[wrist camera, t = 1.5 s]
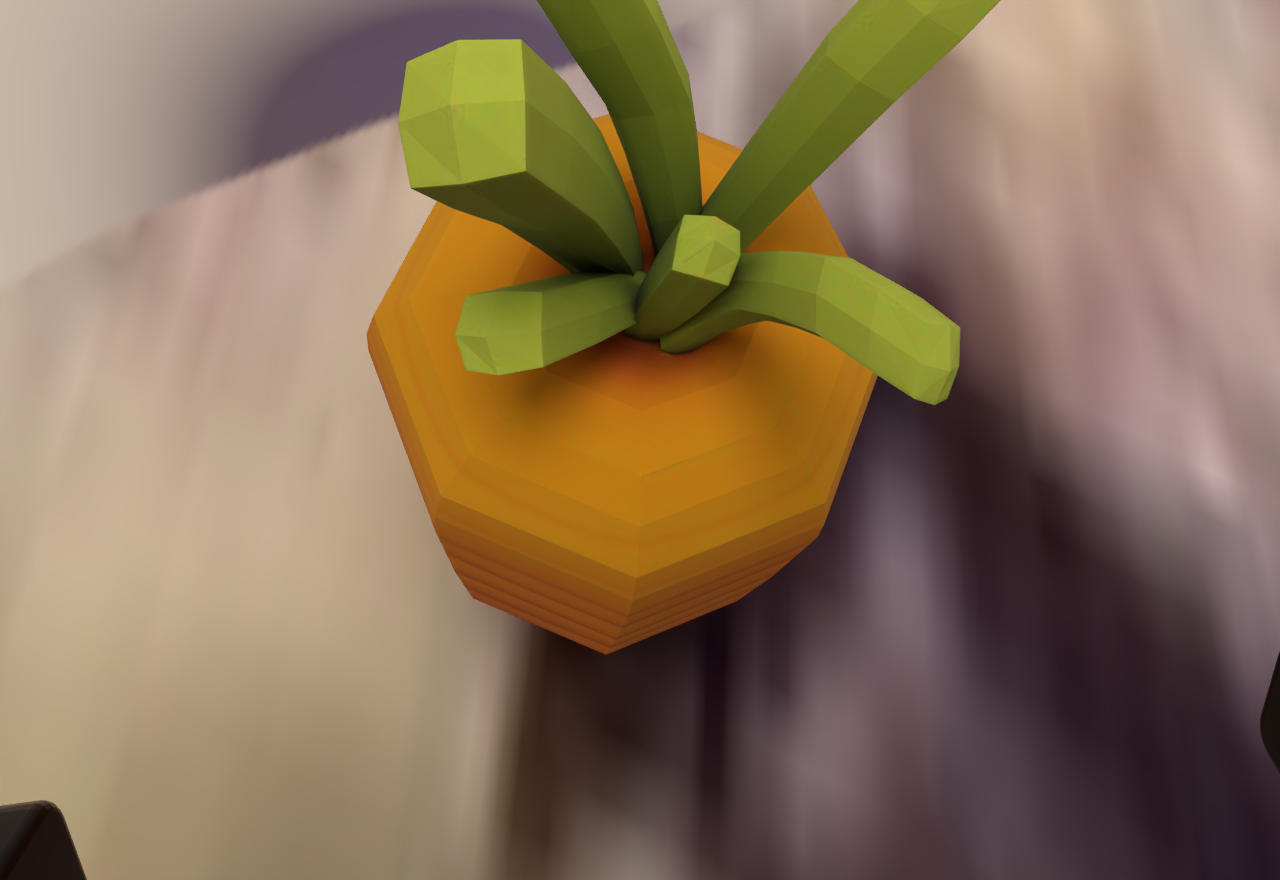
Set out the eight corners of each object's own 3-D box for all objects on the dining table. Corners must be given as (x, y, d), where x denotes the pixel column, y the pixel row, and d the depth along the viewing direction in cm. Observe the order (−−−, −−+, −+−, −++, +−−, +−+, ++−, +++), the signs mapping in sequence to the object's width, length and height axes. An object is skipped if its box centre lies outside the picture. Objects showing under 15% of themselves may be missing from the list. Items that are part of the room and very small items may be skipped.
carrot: (718, 447, 21) (1085, -322, 7) (726, 713, 19) (1233, 429, 5) (457, 441, 21) (271, -389, 6) (443, 712, 19) (151, 401, 5)
